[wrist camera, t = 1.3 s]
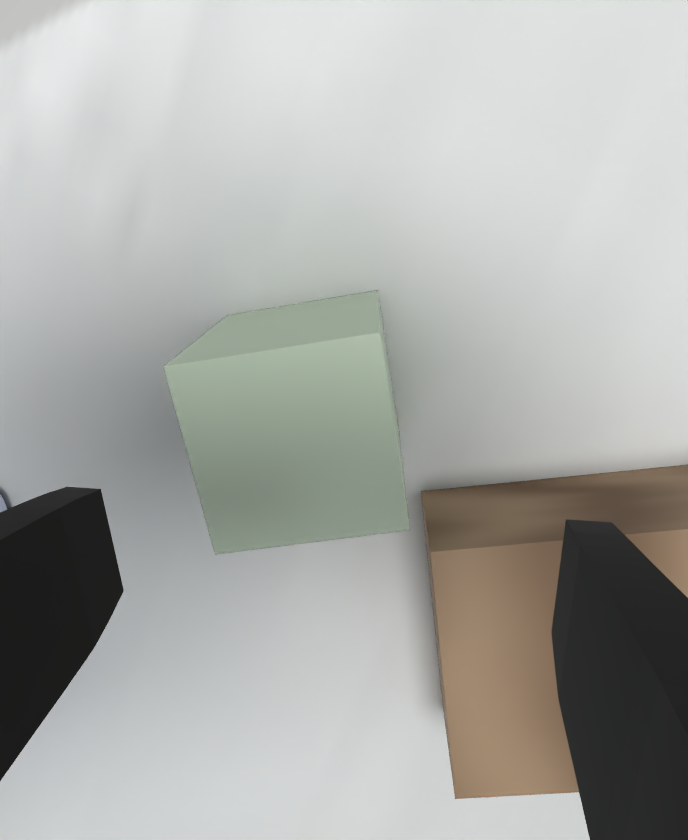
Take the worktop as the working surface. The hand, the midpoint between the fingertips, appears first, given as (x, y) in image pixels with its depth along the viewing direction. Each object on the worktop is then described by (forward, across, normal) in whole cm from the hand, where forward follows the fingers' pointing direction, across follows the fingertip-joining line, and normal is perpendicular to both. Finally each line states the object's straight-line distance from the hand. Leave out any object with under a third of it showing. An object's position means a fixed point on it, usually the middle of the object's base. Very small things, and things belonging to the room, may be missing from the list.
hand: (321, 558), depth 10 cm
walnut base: (+10, -6, +8) cm, 15 cm away
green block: (+10, +2, +1) cm, 10 cm away
